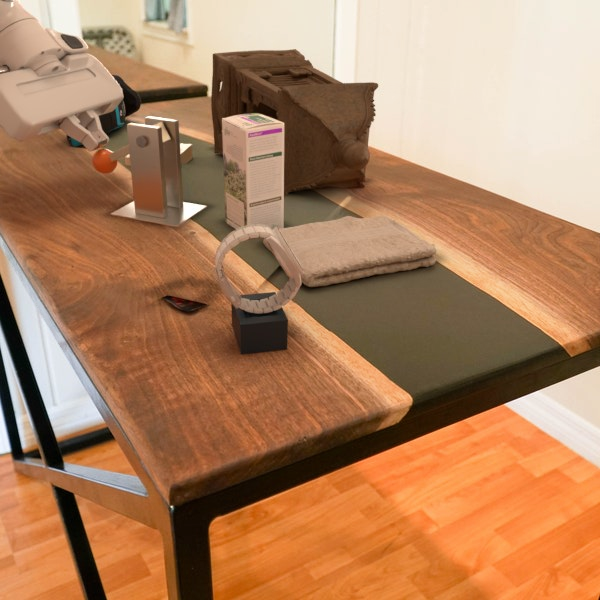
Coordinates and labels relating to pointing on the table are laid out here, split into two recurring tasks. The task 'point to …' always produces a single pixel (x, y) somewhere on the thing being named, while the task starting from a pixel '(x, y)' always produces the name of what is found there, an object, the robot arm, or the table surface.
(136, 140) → the switch bracket
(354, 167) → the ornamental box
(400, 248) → the washcloth
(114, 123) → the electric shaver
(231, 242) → the watch
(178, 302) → the dark red faceted gem
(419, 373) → the table surface
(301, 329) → the table surface
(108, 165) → the switch lever
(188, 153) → the control box
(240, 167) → the syrup box
